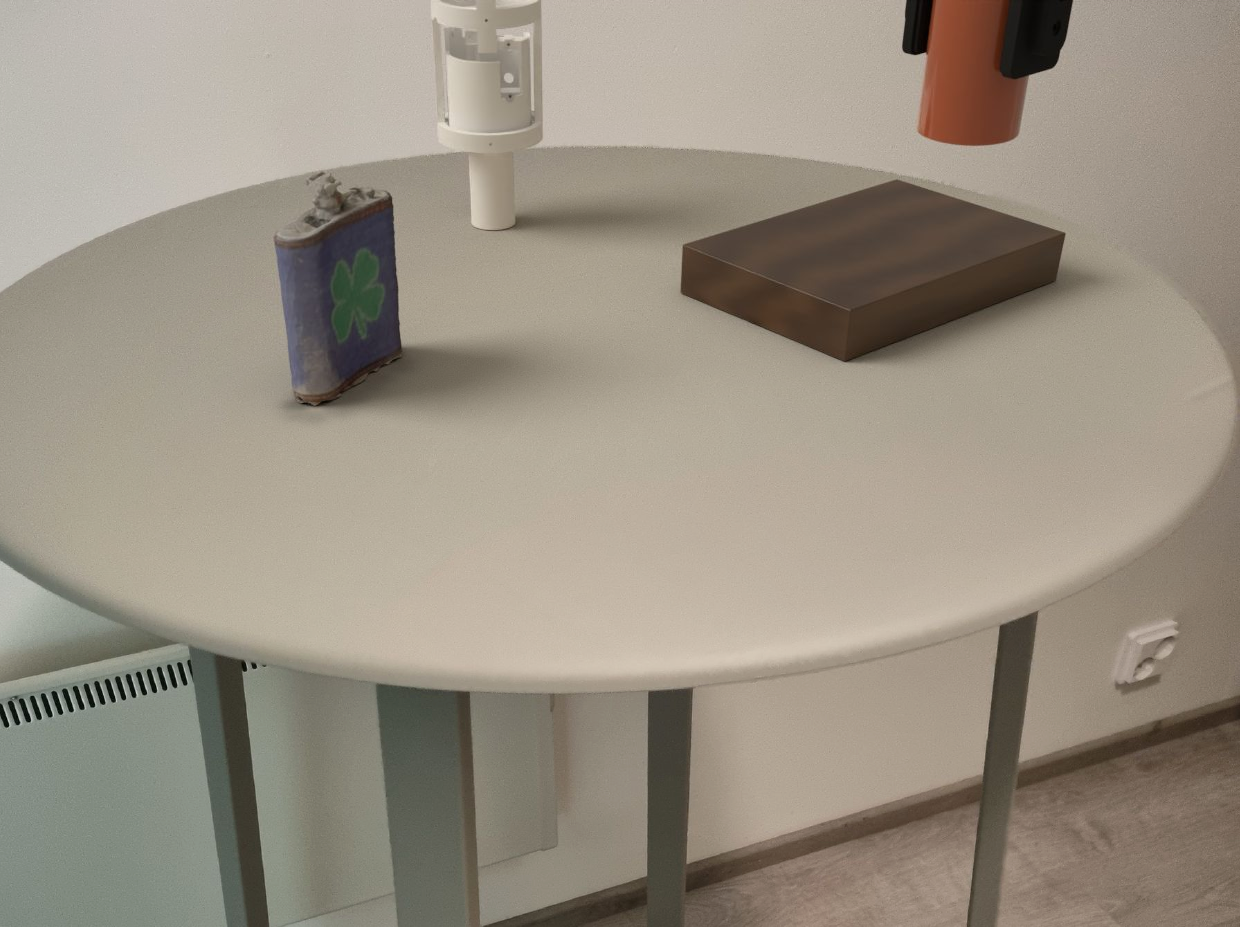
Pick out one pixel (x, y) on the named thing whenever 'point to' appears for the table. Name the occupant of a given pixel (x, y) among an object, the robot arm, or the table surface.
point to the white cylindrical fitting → (488, 96)
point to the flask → (339, 289)
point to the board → (870, 266)
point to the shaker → (969, 76)
